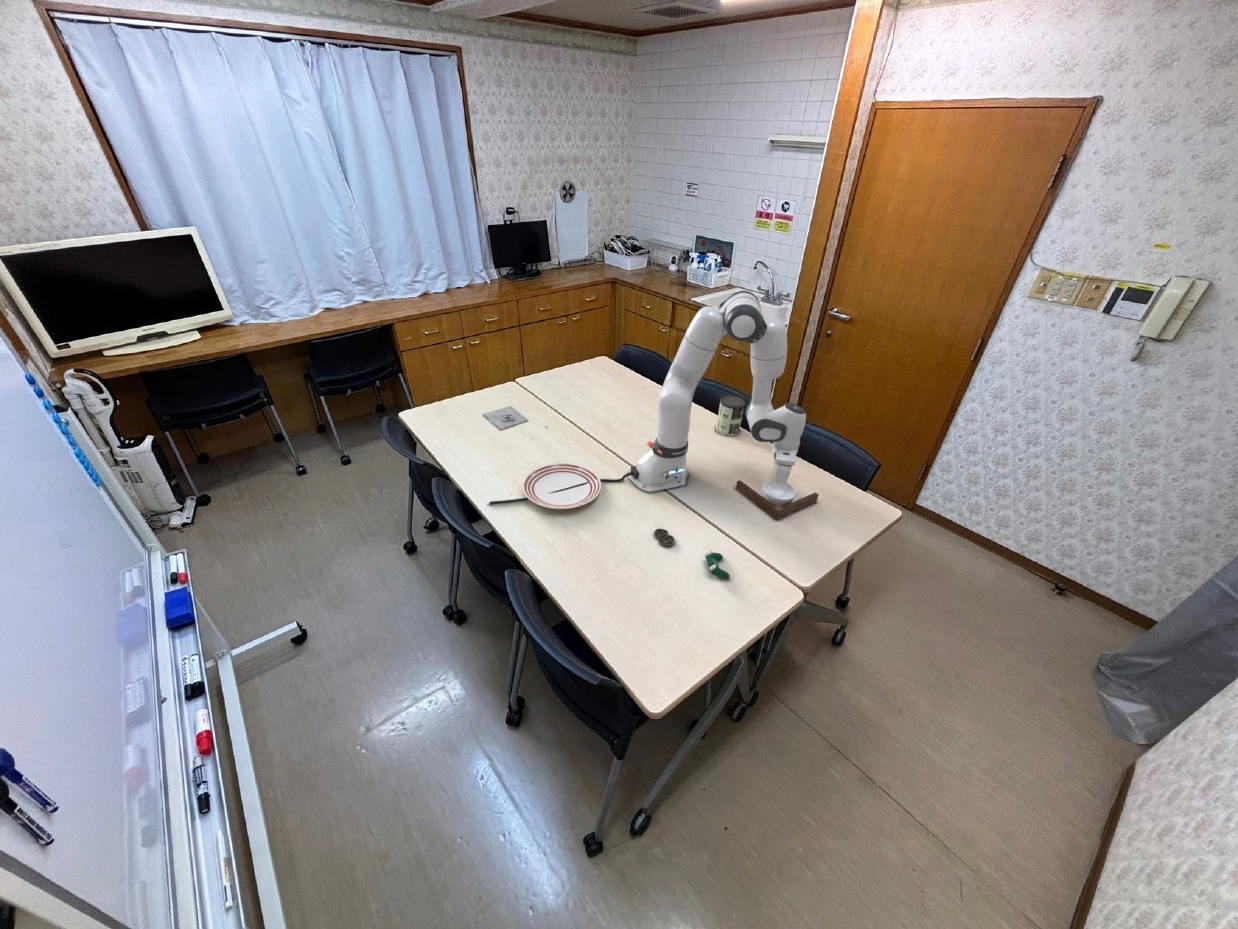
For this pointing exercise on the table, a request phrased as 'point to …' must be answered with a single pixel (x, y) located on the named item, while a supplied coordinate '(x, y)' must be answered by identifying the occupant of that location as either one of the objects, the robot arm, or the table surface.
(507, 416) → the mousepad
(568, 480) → the plate
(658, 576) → the table surface
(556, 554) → the table surface
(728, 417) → the coffee can
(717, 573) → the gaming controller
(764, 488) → the ramekin
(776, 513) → the corner guard
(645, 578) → the table surface
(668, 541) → the corroded twin loop
